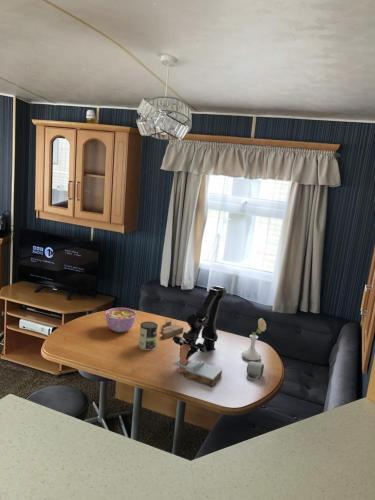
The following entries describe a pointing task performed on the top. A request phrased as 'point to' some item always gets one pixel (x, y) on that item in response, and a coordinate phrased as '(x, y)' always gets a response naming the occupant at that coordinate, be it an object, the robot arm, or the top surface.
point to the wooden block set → (171, 330)
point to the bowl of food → (120, 319)
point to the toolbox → (202, 378)
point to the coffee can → (148, 335)
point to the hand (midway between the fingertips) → (183, 358)
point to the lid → (200, 369)
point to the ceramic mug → (255, 370)
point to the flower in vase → (252, 352)
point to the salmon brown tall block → (184, 356)
